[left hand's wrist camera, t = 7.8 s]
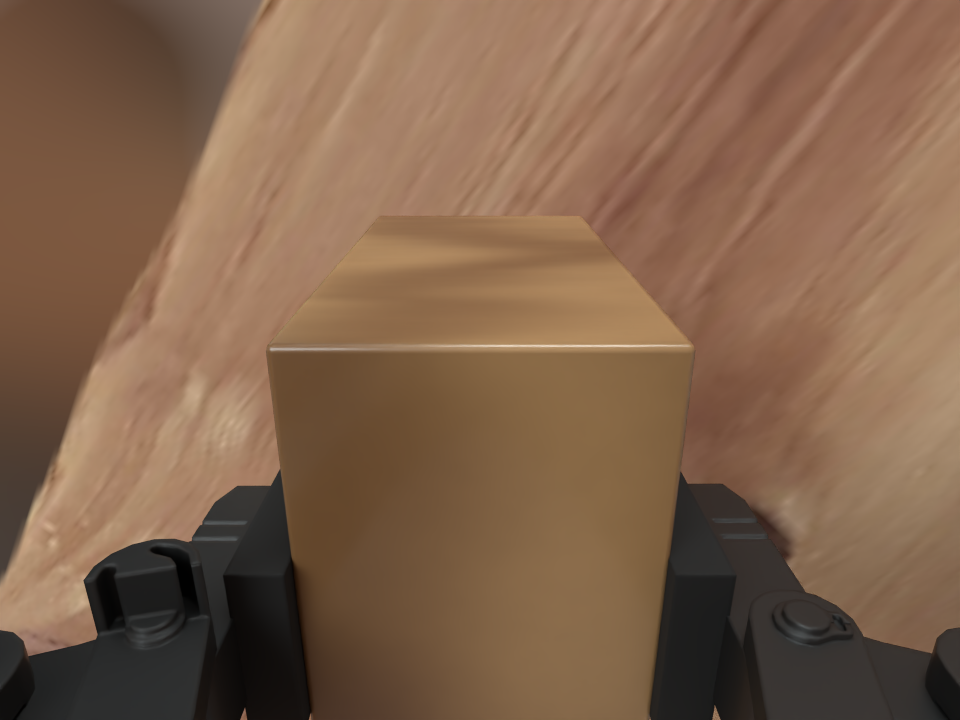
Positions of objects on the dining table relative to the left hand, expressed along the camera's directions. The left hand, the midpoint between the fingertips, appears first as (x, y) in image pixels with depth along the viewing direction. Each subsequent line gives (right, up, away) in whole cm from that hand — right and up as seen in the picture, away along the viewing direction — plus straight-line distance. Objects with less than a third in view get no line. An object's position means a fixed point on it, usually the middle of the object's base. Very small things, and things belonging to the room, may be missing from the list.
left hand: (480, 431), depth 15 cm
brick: (0, +1, +3) cm, 3 cm away
